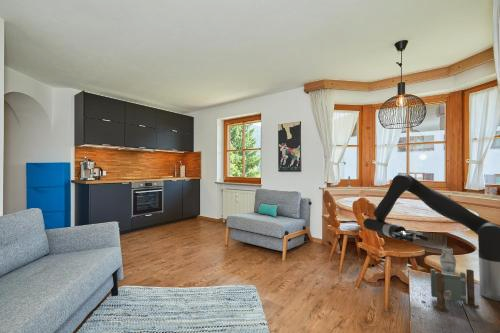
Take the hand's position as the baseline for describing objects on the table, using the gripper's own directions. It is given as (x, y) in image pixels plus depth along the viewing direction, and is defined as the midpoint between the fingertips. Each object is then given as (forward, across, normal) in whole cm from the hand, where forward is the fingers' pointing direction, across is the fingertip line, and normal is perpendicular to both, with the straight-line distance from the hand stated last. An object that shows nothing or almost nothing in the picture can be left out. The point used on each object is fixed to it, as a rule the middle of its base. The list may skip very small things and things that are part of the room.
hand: (420, 239), depth 120 cm
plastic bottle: (+1, +15, +25) cm, 30 cm away
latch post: (+15, -6, +25) cm, 30 cm away
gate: (+11, +4, +23) cm, 26 cm away
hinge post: (+15, +10, +25) cm, 31 cm away
